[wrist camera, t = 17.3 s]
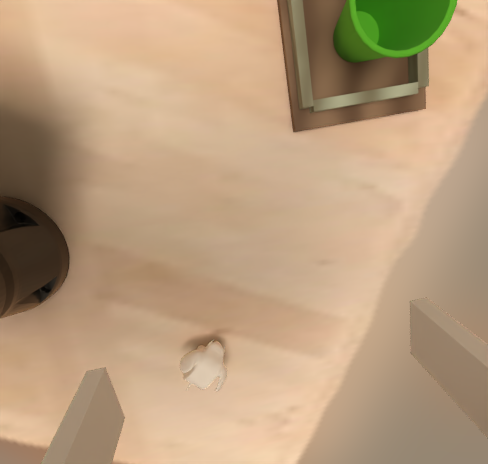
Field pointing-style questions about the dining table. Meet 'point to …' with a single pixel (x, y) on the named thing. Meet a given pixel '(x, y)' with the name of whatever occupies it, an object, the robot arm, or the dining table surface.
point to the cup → (390, 27)
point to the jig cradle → (341, 72)
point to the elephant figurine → (204, 366)
